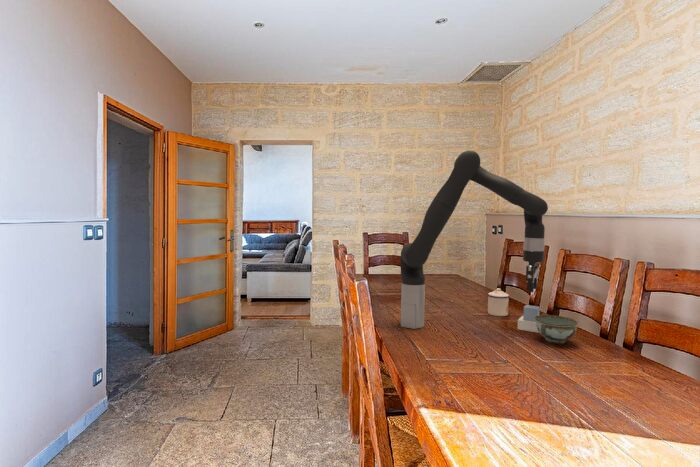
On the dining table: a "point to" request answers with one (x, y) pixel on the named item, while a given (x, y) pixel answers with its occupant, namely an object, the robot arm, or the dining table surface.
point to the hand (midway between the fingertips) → (531, 290)
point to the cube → (530, 312)
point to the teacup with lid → (498, 303)
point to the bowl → (556, 328)
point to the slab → (527, 325)
